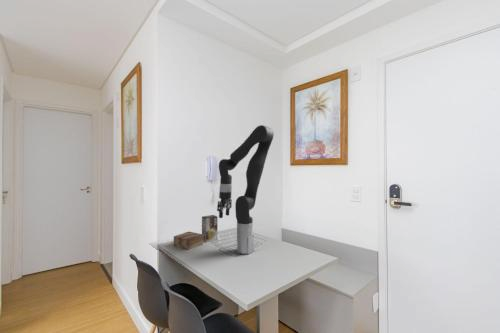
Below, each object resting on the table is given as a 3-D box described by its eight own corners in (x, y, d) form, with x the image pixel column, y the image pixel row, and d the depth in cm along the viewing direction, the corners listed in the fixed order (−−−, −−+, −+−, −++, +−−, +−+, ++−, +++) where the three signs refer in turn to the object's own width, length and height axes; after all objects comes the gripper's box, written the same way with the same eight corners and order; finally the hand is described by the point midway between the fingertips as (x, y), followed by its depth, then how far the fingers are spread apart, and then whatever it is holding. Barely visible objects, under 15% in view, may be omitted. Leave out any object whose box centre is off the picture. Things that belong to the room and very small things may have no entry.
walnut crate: (203, 243, 155) (203, 234, 155) (188, 249, 144) (188, 239, 144) (188, 240, 162) (188, 231, 162) (173, 245, 151) (173, 236, 151)
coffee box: (212, 237, 169) (213, 214, 169) (217, 239, 164) (218, 216, 164) (201, 239, 163) (201, 216, 163) (205, 242, 158) (206, 218, 158)
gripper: (225, 192, 142) (223, 219, 143) (235, 190, 155) (234, 215, 156) (214, 191, 145) (213, 217, 145) (225, 189, 158) (224, 213, 159)
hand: (224, 216), depth 151 cm, fingers open, 8 cm apart
